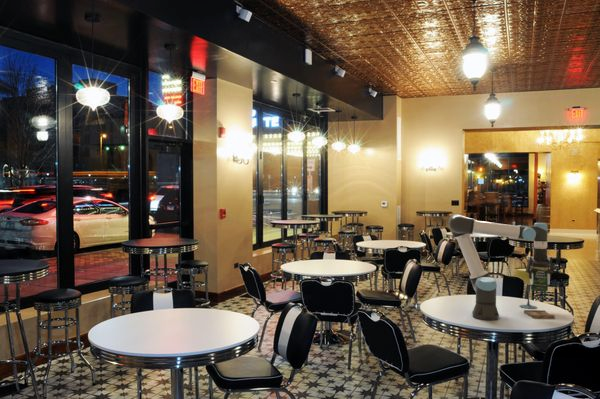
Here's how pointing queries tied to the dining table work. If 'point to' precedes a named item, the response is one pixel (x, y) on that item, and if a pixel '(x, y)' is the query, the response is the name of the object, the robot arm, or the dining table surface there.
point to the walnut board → (538, 314)
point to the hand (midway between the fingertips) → (539, 284)
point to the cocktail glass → (525, 276)
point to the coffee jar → (540, 276)
